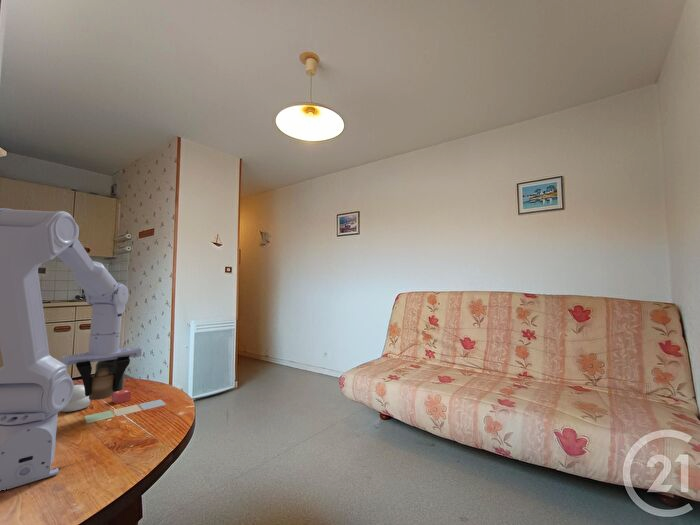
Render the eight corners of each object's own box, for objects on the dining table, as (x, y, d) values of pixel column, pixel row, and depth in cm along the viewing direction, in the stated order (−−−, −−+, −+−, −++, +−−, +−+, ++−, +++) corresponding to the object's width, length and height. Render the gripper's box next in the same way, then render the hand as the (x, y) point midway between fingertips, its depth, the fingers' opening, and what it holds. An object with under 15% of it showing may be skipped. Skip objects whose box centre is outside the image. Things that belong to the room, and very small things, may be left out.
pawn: (114, 396, 72) (116, 368, 73) (89, 401, 69) (91, 371, 70) (111, 391, 75) (113, 364, 76) (88, 395, 72) (90, 367, 73)
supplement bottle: (103, 398, 85) (107, 353, 85) (87, 395, 87) (90, 351, 88) (129, 390, 91) (131, 348, 92) (112, 387, 93) (115, 346, 94)
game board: (170, 410, 77) (170, 407, 77) (86, 431, 66) (87, 428, 66) (158, 398, 85) (158, 396, 85) (81, 415, 74) (81, 412, 74)
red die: (130, 403, 82) (130, 391, 82) (117, 406, 79) (117, 394, 79) (124, 400, 83) (125, 388, 83) (111, 404, 81) (112, 392, 81)
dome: (91, 408, 76) (92, 385, 76) (59, 415, 72) (61, 390, 72) (88, 402, 80) (90, 380, 80) (58, 408, 76) (60, 384, 76)
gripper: (138, 328, 81) (134, 381, 80) (62, 334, 71) (58, 395, 70) (144, 331, 76) (141, 388, 75) (64, 338, 66) (59, 404, 65)
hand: (101, 392), depth 72 cm, fingers closed on pawn, 4 cm apart
